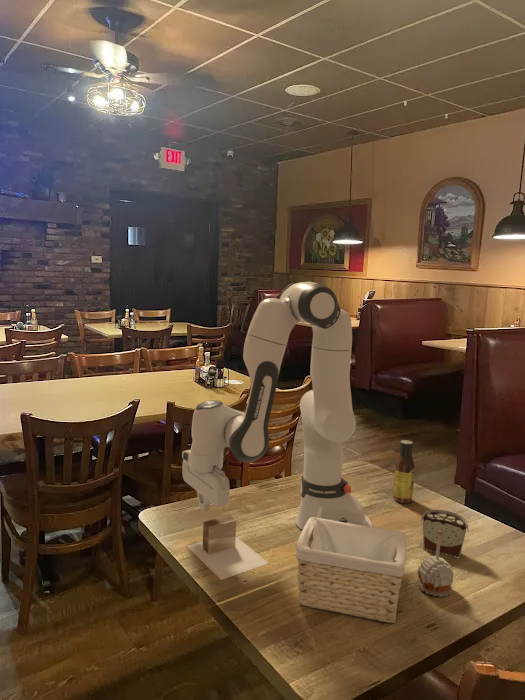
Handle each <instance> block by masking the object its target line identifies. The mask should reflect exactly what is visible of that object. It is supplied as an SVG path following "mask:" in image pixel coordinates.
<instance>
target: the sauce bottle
mask: <svg viewBox="0 0 525 700" xmlns="http://www.w3.org/2000/svg"><path fill="white" fill-rule="evenodd" d="M399 447H400V448H399V449H400V450H399V456H398V457H397V458H396V460H395V468H394V478H393V492H392V494H393V500H394V501H395V502H396V503H399V502H400V504H409V503H411V502H412V501H413V495H414V485H415V484H414V483H415V470H416V469H415V467H416V466H415V462H414V458H413V448H414V442H413V441H411V440H408V439H407V440H406V439H405V440H400V443H399Z"/></svg>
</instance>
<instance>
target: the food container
mask: <svg viewBox="0 0 525 700" xmlns="http://www.w3.org/2000/svg"><path fill="white" fill-rule="evenodd" d="M420 522H422V535H423V537H422V538H423V540H422V541H423V543H422V544H423V546H422V547H423V550H424V549H427V550H426V551H428V550H430V551H429V552H432V551H434V552H433V553H436V548H437V538H438V530H441V531H442V533H441V543H440V552H439V554H440V553H443V554H442V555H444V554H447V555H446V556H448V555H450V556H449V557H452V556H456V557H460V558H461V553H462V549H463V545H464V541H465V536H466V532H469V525H468V522H467V520H466V518H464V517H463V516H461V515H460V514H457V513H456V512H453V511H449V510H443V509H430V510H426V511H425V512H423V514H422V516H421V518H420ZM456 557H455V558H456Z"/></svg>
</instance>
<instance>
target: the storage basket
mask: <svg viewBox="0 0 525 700" xmlns="http://www.w3.org/2000/svg"><path fill="white" fill-rule="evenodd" d="M296 542H297V543H296V547H295V549H296V550H295V551H296V552H295V558H296V559H297V581H298V584H297V588H298V603H299V605H301V606H304V607H305V606H306V607H309V608H313V609H314V608H315V609H320V610H321V611H322V610H325V611H330V612H332V613H333V612H336V613H338V614H343V615H350V616H354V617H359V618H364V619H368V620H374V621H379V622H385V623H388V624H394V623H395V622H396V621H397V612H398V611H397V609H398V602H399V597H400V589H401V585H402V578H403V576H404V575H405V568H406V567H405V566H406V559H407V552H408V542H407V535H406V533H405V532H403V531H396V530H392V529H386V528H380V527H375V526H372V527H369V526H362V525H356V524H350V523H344V522H338V521H333V520H327V519H321V518H315V517H311V518H309V520H308V521H307V523H306V525H305V527H304V529H303V530H302V531H301V533H300V535H299V537H298V539H297V541H296Z"/></svg>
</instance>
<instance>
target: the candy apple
mask: <svg viewBox="0 0 525 700" xmlns="http://www.w3.org/2000/svg"><path fill="white" fill-rule="evenodd" d="M441 533H442V531H441V530H438V538H437V548H436V552H435V555H432V556H431V555H430V556H429V555H428V556H427V557H426V558H424V559H423V561H420V565H418V569H417V572H416V575H418V576H417V577H418V579H417V581H416V584H417V587H418V588H419V589H420V590H421V592H425V594H427V595H428V594H429V595H430V596H434V597H435V596H438V597H439V598H440V597H448V596H449V595H450V594H451V593H452V590H453V588H452V584H453V581H454V572H453V569H452V566H451V564H450V563H448V561H446V560H445V559H444V558H443V557H440V553H439V552H440V543H441Z"/></svg>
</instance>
